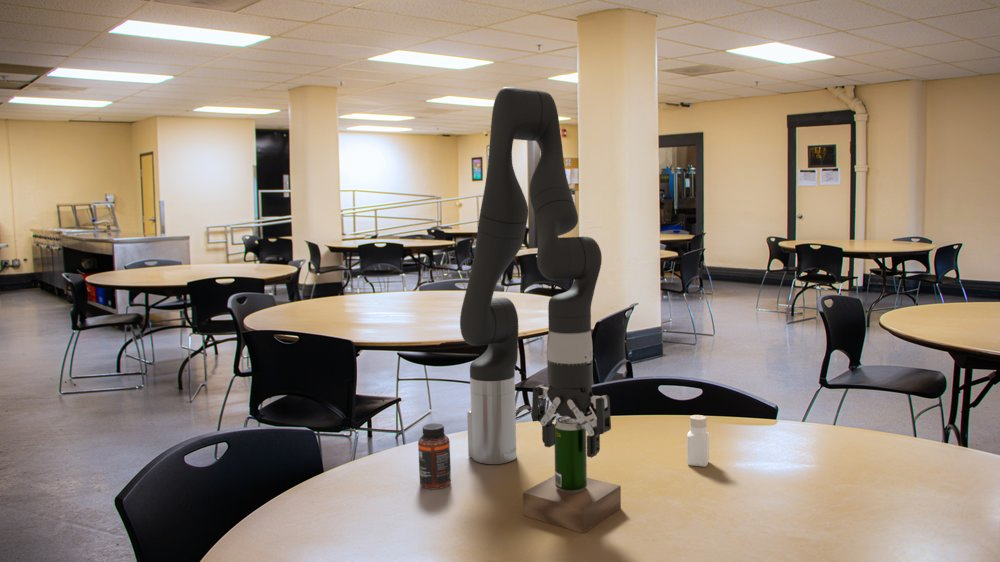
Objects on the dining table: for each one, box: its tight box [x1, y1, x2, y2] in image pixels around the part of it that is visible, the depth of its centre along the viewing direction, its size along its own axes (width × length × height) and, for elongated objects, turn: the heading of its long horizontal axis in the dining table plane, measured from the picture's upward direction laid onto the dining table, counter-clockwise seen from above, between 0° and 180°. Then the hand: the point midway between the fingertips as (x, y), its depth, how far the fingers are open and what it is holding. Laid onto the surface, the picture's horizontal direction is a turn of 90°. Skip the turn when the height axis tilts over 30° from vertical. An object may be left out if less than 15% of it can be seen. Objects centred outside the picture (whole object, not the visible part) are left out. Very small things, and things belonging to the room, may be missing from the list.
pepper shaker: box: [686, 414, 710, 468], centre depth 149 cm, size 4×4×10 cm
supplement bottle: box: [417, 422, 452, 490], centre depth 142 cm, size 6×6×11 cm
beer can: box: [554, 416, 588, 494], centre depth 127 cm, size 5×5×12 cm
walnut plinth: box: [522, 474, 622, 534], centre depth 128 cm, size 12×12×4 cm
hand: (570, 450), depth 127 cm, fingers open, 8 cm apart
